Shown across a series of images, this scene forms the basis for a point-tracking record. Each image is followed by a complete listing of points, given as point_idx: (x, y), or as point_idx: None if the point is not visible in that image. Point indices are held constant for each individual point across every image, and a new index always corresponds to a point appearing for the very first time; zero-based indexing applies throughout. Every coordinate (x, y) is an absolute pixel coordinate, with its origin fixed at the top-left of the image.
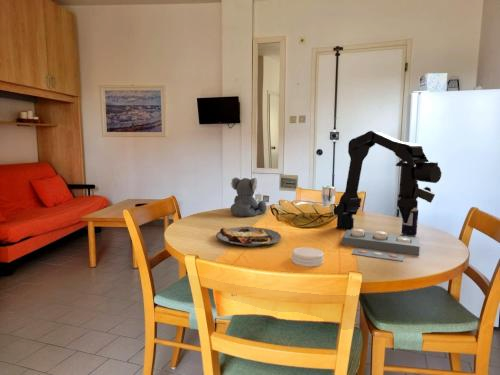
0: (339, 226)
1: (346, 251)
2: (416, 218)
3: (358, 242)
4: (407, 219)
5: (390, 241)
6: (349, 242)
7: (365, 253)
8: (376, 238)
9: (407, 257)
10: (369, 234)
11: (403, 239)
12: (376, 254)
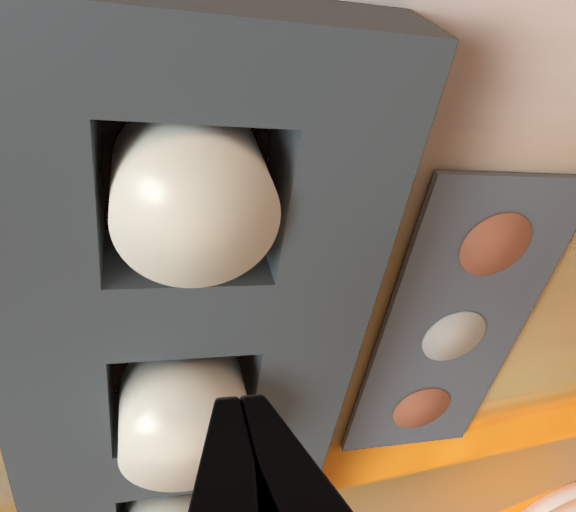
0: None
1: (407, 459)
2: None
3: None
4: (310, 466)
5: (309, 326)
6: None
7: (452, 389)
8: None
9: (492, 134)
10: (113, 482)
11: (218, 227)
12: (473, 339)
